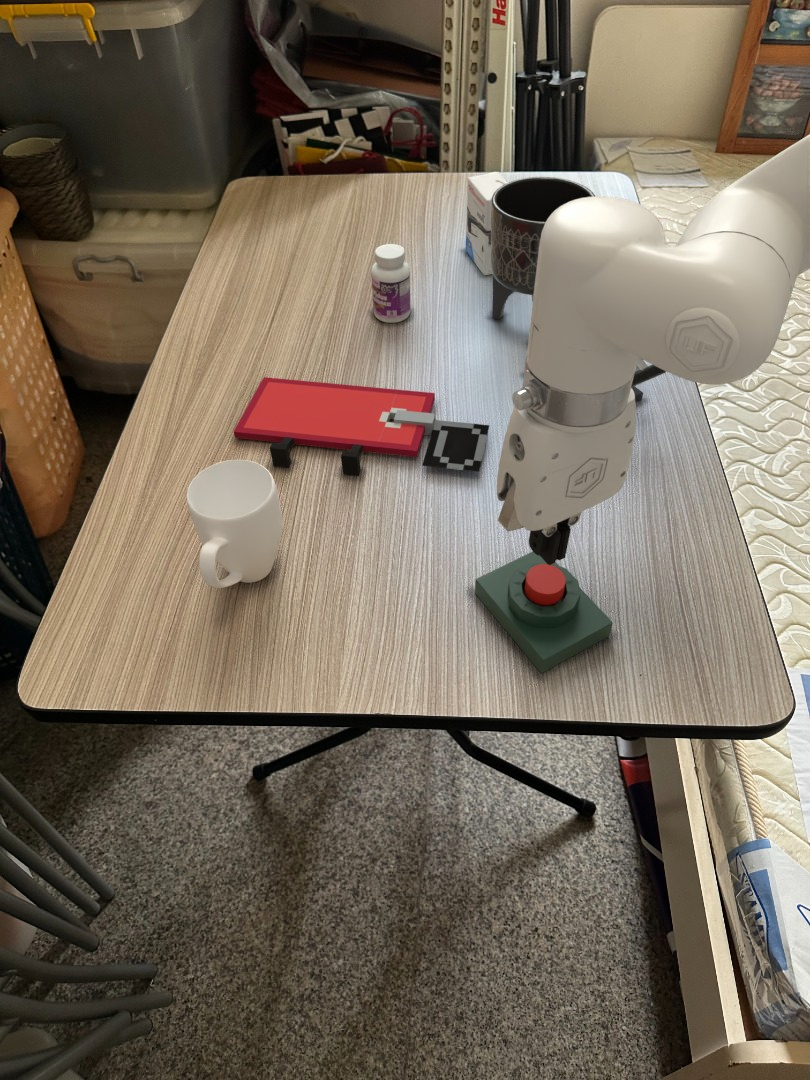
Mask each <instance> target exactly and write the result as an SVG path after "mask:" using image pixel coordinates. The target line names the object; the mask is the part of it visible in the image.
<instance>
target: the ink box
mask: <svg viewBox="0 0 810 1080" xmlns="http://www.w3.org/2000/svg"><path fill="white" fill-rule="evenodd" d="M506 183H509V182H508V181H507V180H506V178H504V176H503V175H502V173H500V172H499V171H492V172H488V173H483V174H477V175H472V176H468V177H467V189H466V190H467V191H466V193H467V194H466V221H465V222H466V223H465V225H466V226H465V252H466V253H467V254H468V255H469V257H470V258H471V260H472V261H473V263H474V264H475V265H476V266H477V268H478V269H479V270H480V272H481V273H482V274H483V276H489V275H493V273H492V269H491V200H492V196H493V194H494V192H495V191H496V190H497V189H498V188H500V187H501V186H503V185H504V184H506Z"/></svg>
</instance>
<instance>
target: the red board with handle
mask: <svg viewBox="0 0 810 1080" xmlns="http://www.w3.org/2000/svg"><path fill="white" fill-rule="evenodd" d="M435 400H436V393H435V392H429V391H417V390H407V389H395V388H384V387H375V386H373V387H372V386H363V385H353V384H341V383H331V382H320V381H310V380H296V379H286V378H276V377H266V376H265V377H263V378H262V379H261V382H260V383H259V385H258V387H257V389H256V390H255V392H254V394H253V396H252V397H251V399H250V401H249V402H248V405H247V407H246V408H245V409H244V412H243V414H242V415H241V417H240V419H239V420H238V422H237V424H236V426H235V428H234V430H233V436H234V438H235V439H244V440H252V441H264V442H271V444H270V446H269V452H270V457H271V461H272V466H273V467H275V468H284V469H290V466H291V464H292V460H291V454H290V450H291V449H292V447H293V446H294V445H299V446H308V447H309V446H310V447H317V448H327V449H335V450H336V449H338V450H342V451H341V454H340V461H341V468H342V475H347V476H355V477H360V475H361V472H362V468H361V459H360V458H361V455H362V454H363V453H364V452H365V453H372V454H373V453H375V454H382V455H392V456H403V457H409V458H410V457H411V458H418V457H419V454H420V451H421V447H422V443H423V440H424V437H425V436H430V437H429V441H428V444H427V448H426V449H425V454H424V458H423V460H422V464H421V466H423V467H431V468H441V469H448V470H449V469H450V470H457V471H458V470H459V471H467V472H476V473H479V472H480V471H481V467H482V462H483V457H484V452H485V448H486V443H487V437H488V434H489V429H490V425H489V424H482V423H481V424H479V423H470V422H461V421H451V420H440V419H436V413H434V412H433V413H432V410H433V407H434V403H435ZM391 420H393V421H392V422H391Z"/></svg>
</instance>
